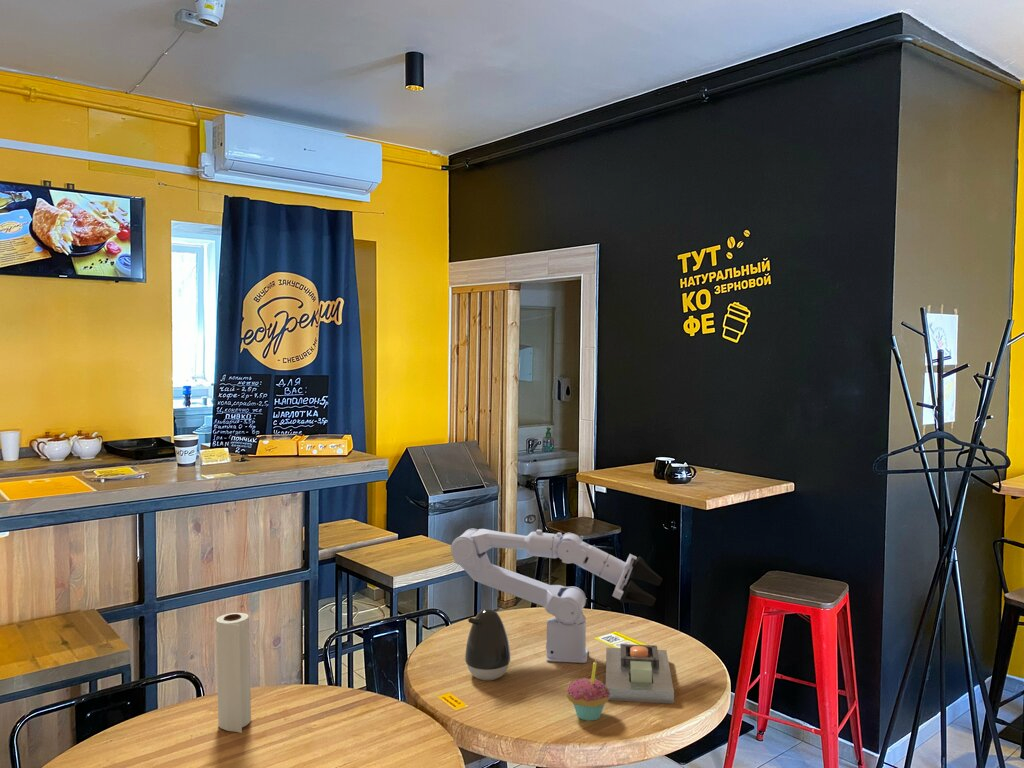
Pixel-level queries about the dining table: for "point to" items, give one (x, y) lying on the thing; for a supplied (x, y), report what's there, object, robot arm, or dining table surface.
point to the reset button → (638, 651)
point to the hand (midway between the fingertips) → (657, 592)
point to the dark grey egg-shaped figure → (487, 646)
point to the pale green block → (640, 672)
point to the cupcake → (588, 696)
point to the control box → (638, 692)
